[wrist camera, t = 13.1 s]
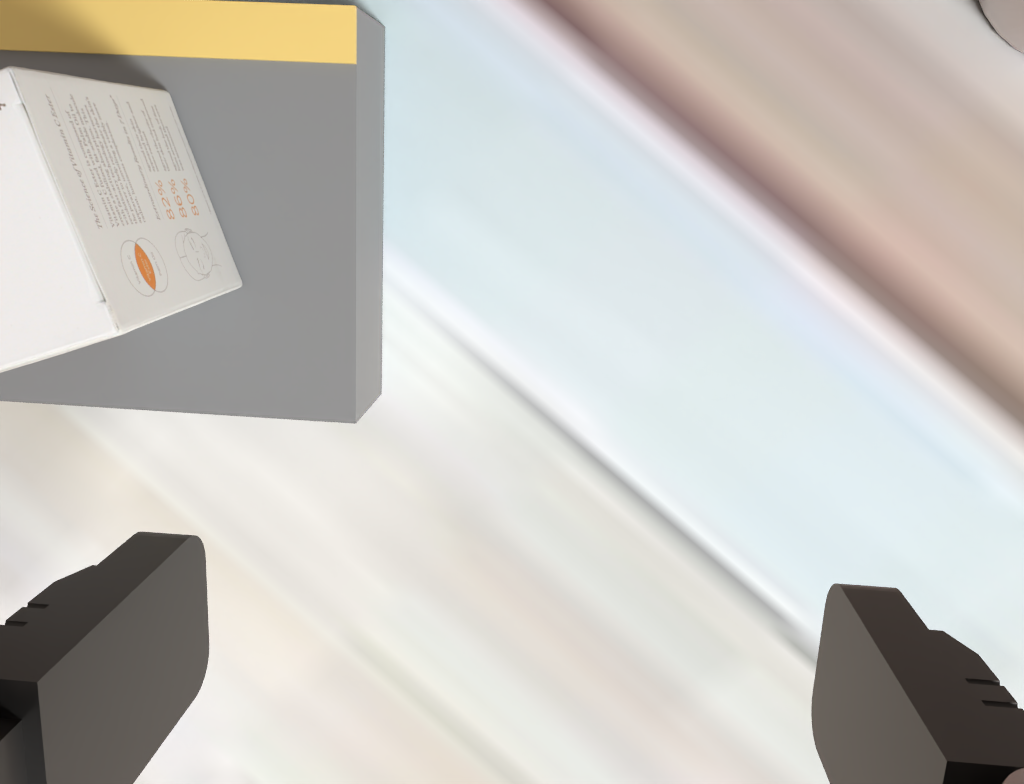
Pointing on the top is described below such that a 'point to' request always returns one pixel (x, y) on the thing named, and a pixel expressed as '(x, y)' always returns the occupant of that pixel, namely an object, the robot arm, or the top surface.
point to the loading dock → (241, 202)
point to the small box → (97, 215)
